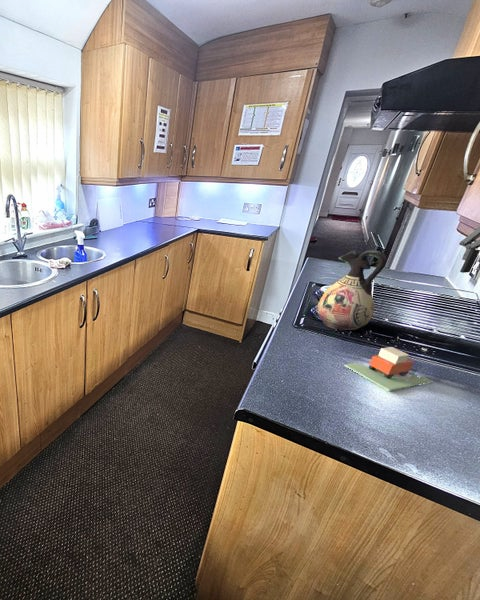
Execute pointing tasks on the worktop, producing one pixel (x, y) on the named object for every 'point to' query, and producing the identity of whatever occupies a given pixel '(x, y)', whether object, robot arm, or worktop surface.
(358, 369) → the mat
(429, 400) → the worktop surface
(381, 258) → the ceramic jug
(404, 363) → the toy car
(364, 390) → the worktop surface
